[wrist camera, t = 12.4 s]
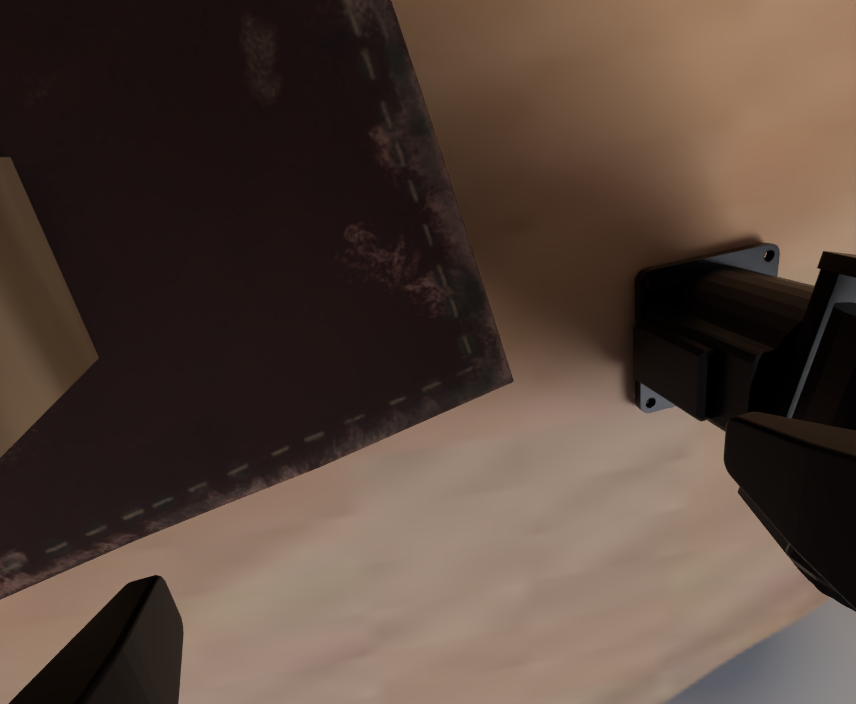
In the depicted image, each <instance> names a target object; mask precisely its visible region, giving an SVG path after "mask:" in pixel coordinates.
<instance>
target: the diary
mask: <svg viewBox="0 0 856 704" xmlns="http://www.w3.org/2000/svg"><path fill="white" fill-rule="evenodd" d="M0 157H11V160H12V162H13V164H14V167H15V169H16V171H17V173H18V176H19V178H20V180H21V182H22V185H23V187H24V189H25V191H26V194H27V196H28V198H29V200H30V203H31V205H32V207H33V210H34V212H35V214H36V216H37V219H38V221H39V223H40V225H41V228H42V230H43V232H44V234H45V237H46V239H47V241H48V244H49V246H50V248H51V250H52V253H53V255H54V257H55V259H56V262H57V264H58V266H59V268H60V271H61V273H62V275H63V277H64V280H65V282H66V284H67V287H68V289H69V291H70V293H71V296H72V298H73V300H74V302H75V305H76V307H77V309H78V311H79V314H80V316H81V318H82V321H83V323H84V325H85V327H86V330H87V332H88V334H89V336H90V339H91V341H92V343H93V345H94V348H95V350H96V352H97V354H98V357H99V358H98V359H97V360H96V361H95V362H94V363H93V364H92V365H91V366H90V368H89V369H88V370H87V371H86V372H85V373H84V374H83V375H82V376H81V377H80V378H79V379H78V380H77V381H76V382H75V383H74V384H73V385H72V386H71V387H70V388H69V389H68V390H67V391H66V392H65V393H64V394H63V395H62V396H61V397H60V398H59V399H58V400H57V401H56V402H55V403H54V404H53V405H52V406H51V407H50V408H49V409H48V410H47V411H46V412H45V413H44V414H43V415H42V416H41V417H40V418H39V419H38V420H37V421H36V422H35V423H34V424H33V425H32V426H31V427H30V428H29V429H28V430H27V431H26V432H25V433H24V434H23V435H22V436H21V437H20V438H19V439H18V440H17V441H16V442H15V443H14V444H13V445H12V446H11V447H10V448H9V449H8V450H7V451H6V452H5V453H4V454H3V455H2V456H1V457H0V599H3V598H5V597H7V596H9V595H12V594H14V593H16V592H19V591H21V590H23V589H25V588H28V587H30V586H32V585H35V584H37V583H39V582H41V581H44V580H46V579H48V578H51V577H53V576H55V575H57V574H60V573H62V572H64V571H67V570H69V569H71V568H74V567H76V566H78V565H80V564H83V563H85V562H87V561H90V560H92V559H94V558H96V557H99V556H101V555H103V554H106V553H108V552H110V551H112V550H115V549H117V548H119V547H122V546H124V545H126V544H128V543H131V542H133V541H135V540H138V539H140V538H143V537H145V536H148V535H150V534H153V533H155V532H158V531H160V530H163V529H165V528H168V527H170V526H173V525H175V524H178V523H180V522H183V521H185V520H188V519H190V518H192V517H195V516H197V515H200V514H202V513H205V512H207V511H210V510H212V509H215V508H217V507H220V506H222V505H225V504H227V503H230V502H232V501H235V500H237V499H240V498H242V497H245V496H247V495H250V494H253V493H255V492H258V491H260V490H263V489H265V488H268V487H270V486H273V485H275V484H278V483H281V482H283V481H286V480H288V479H291V478H293V477H296V476H298V475H301V474H304V473H306V472H309V471H311V470H314V469H316V468H319V467H321V466H323V465H326V464H328V463H330V462H332V461H335V460H337V459H339V458H341V457H344V456H346V455H348V454H351V453H353V452H355V451H357V450H360V449H362V448H364V447H366V446H369V445H371V444H373V443H375V442H378V441H380V440H382V439H384V438H387V437H389V436H391V435H394V434H396V433H398V432H400V431H403V430H405V429H407V428H409V427H412V426H414V425H416V424H418V423H421V422H423V421H425V420H428V419H430V418H432V417H434V416H437V415H439V414H441V413H443V412H446V411H448V410H450V409H452V408H455V407H457V406H459V405H461V404H464V403H466V402H468V401H471V400H473V399H475V398H477V397H480V396H482V395H484V394H486V393H489V392H491V391H493V390H496V389H498V388H500V387H502V386H505V385H507V384H509V383H511V382H513V378H512V374H511V371H510V368H509V365H508V362H507V359H506V356H505V353H504V349H503V346H502V343H501V340H500V337H499V334H498V330H497V327H496V324H495V321H494V318H493V315H492V311H491V308H490V305H489V302H488V299H487V296H486V292H485V289H484V286H483V283H482V280H481V277H480V273H479V270H478V267H477V264H476V261H475V258H474V254H473V251H472V248H471V245H470V242H469V239H468V235H467V232H466V229H465V226H464V223H463V220H462V217H461V214H460V210H459V207H458V204H457V201H456V198H455V195H454V192H453V189H452V185H451V182H450V179H449V176H448V173H447V170H446V167H445V164H444V160H443V157H442V154H441V151H440V148H439V145H438V142H437V139H436V135H435V132H434V129H433V126H432V123H431V120H430V117H429V114H428V110H427V107H426V104H425V101H424V98H423V95H422V92H421V89H420V86H419V83H418V80H417V77H416V74H415V71H414V68H413V65H412V62H411V59H410V56H409V53H408V50H407V47H406V44H405V41H404V38H403V35H402V32H401V29H400V26H399V23H398V20H397V17H396V14H395V11H394V8H393V5H392V2H391V0H0Z"/></svg>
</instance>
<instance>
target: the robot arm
mask: <svg viewBox="0 0 856 704" xmlns="http://www.w3.org/2000/svg"><path fill="white" fill-rule="evenodd" d="M766 252H767V255H766V257H765V258H764V256H765V253H766ZM779 255H780V253H779V248H778V246H776V245H775V244H770V243H759V244H755V245H750V246H746V247H741V248H736V249H732V250H727V251H723V252H718V253H713V254H709V255H704V256H700V257H695V258H690V259H686V260H681V261H677V262H672V263H667V264H663V265H658V266H654V267H649V268H645V269H643V270H641V271H640V272H639V273H638V275H637V276H636V279H635V324H634V326H633V376H634V378H635V403H636V406H637V407H638V408H639V409H640V410H642V411H643V412H645V413H652V412H655V411H659V410H663V409H667V408H670V407H674V406H677V407H679V408H680V409H682V410H683V411H685V412H686V413H688V414H689V415H691V416H692V417H694V418H696V419H697V420H699V421H705V420H708V421H709V422H711V423H712V424H714V425H715V426H717V427H719V428H720V429H722V430H723V431H725V432H726V433H725V447H724V464H725V467H726V469H727V471H728V473H729V474H730V476H731V477H732V478H733V479H734V480H735V481H736V483H737V484H738V485H739V486H740V487H739V490H738V494H739V495H740V496H741V497H742V499H743V500H744V501H745V502H746V504H747V505H748V506H749V507H750V509H751V510H752V511H753V513H754V514H755V515H756V516H757V518H758V519H759V520H760V521H761V523H762V524H763V525H764V526H765V528H766V529H767V530H768V531H769V533H770V534H771V535H772V537H773V538H774V539H775V540H776V542H777V543H778V544H779V545H780V547H781V548H782V549H783V550H784V552H785V553H786V554H787V556H788V557H789V558H790V559H791V561H792V562H793V563H794V564H795V566H796V567H797V568H798V569H799V570H800V571H801V573H802V574H803V575H804V576H805V577H806V578H807V579H808V580H809V581H810V582H812V583H813V584H814V585H815V587H816V588H817V589H818V590H819V591H820V592H822V593H823V594H825V595H827V596H829V597H831V598H833V599H835V600H836V601H838V602H839V603H841V604H843V605H844V606H846V607H848V608H850V609H852V610H854V611H856V255H853V254H844V253H835V252H827V251H823V253H822V256H821V259H820V262H819V264H818V267H817V268H819V269H820V272H819V275H818V278H817V281H816V283H815V286H813V285H809V284H805V283H800V282H796V281H792V280H788V279H784V278H780V277H777V275H778V265H779ZM649 277H651V278H652V279H651V282H650V284H649V285H646V282H647V279H648V278H649ZM649 398H650V401H649V402H648V403H647V404H646V401H647V400H648V399H649ZM182 647H183V623H182V619H181V616H180V613H179V611H178V609H177V607H176V604H175V602H174V600H173V597H172V595H171V593H170V591H169V588H168V586H167V584H166V582H165V580H164V579H163V578H162V577H161V576H158V575H154V576H151V577H147V578H143V579H140V580H136V581H133V582H130V583H128V584H127V585H125V586H124V587H123V588H122V589H121V590H120V591H119V592H118V593H117V594H116V595H115V596H114V597H113V598H112V599H111V600H110V601H109V602H108V603H107V604H106V605H105V606H104V607H103V608H102V610H101V611H100V612H99V613H98V614H97V615H96V616H95V617H94V618H93V619H92V620H91V621H90V622H89V623H88V624H87V625H86V626H85V627H84V628H83V629H82V630H81V631H80V632H79V633H78V634H77V635H76V636H75V637H74V638H73V639H72V640H71V641H70V642H69V643H68V644H67V645H66V646H65V647H64V648H63V649H62V650H61V651H60V652H59V653H58V654H57V655H56V656H55V657H54V658H53V659H52V660H51V661H50V662H49V663H48V664H47V665H46V666H45V667H44V668H43V669H42V670H41V671H40V672H39V673H38V674H37V675H36V676H35V677H34V678H33V679H32V680H31V681H30V682H29V683H28V684H27V685H26V686H25V687H24V688H23V689H22V690H21V691H20V692H19V693H18V695H17V696H16V697H15V698H14V699H13V700H12V701H11V702H10V703H9V704H178V701H179V688H180V674H181V661H182Z"/></svg>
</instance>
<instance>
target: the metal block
mask: <svg viewBox="0 0 856 704" xmlns="http://www.w3.org/2000/svg"><path fill="white" fill-rule="evenodd" d="M98 358H99V357H98V354H97V352H96V350H95V348H94V345H93V343H92V341H91V339H90V336H89V334H88V332H87V330H86V327H85V325H84V323H83V321H82V318H81V316H80V314H79V311H78V309H77V307H76V305H75V302H74V300H73V298H72V296H71V293H70V291H69V289H68V287H67V284H66V282H65V280H64V277H63V275H62V273H61V271H60V268H59V266H58V264H57V262H56V259H55V257H54V255H53V253H52V250H51V248H50V246H49V244H48V241H47V239H46V237H45V234H44V232H43V230H42V228H41V225H40V223H39V221H38V219H37V216H36V214H35V212H34V210H33V207H32V205H31V203H30V200H29V198H28V196H27V194H26V191H25V189H24V187H23V185H22V182H21V180H20V178H19V176H18V173H17V171H16V169H15V167H14V164H13V162H12V160H11V157H0V457H1V456H2V455H3V454H4V453H5V452H6V451H7V450H8V449H9V448H10V447H11V446H12V445H13V444H14V443H15V442H16V441H17V440H18V439H19V438H20V437H21V436H22V435H23V434H24V433H25V432H26V431H27V430H28V429H29V428H30V427H31V426H32V425H33V424H34V423H35V422H36V421H37V420H38V419H39V418H40V417H41V416H42V415H43V414H44V413H45V412H46V411H47V410H48V409H49V408H50V407H51V406H52V405H53V404H54V403H55V402H56V401H57V400H58V399H59V398H60V397H61V396H62V395H63V394H64V393H65V392H66V391H67V390H68V389H69V388H70V387H71V386H72V385H73V384H74V383H75V382H76V381H77V380H78V379H79V378H80V377H81V376H82V375H83V374H84V373H85V372H86V371H87V370H88V369H89V368H90V366H91V365H92V364H93V363H94V362H95V361H96V360H97V359H98Z"/></svg>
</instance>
